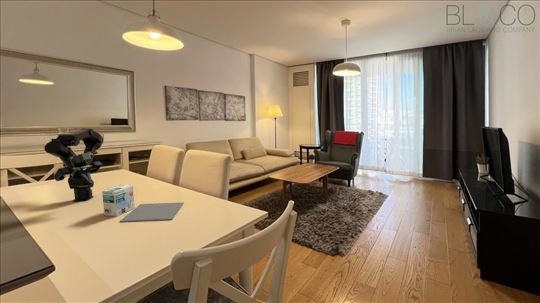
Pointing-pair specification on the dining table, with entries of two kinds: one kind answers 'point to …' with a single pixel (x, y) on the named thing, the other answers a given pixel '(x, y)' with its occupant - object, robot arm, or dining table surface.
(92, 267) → the dining table surface
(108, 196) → the light bulb box
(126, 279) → the dining table surface
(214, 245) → the dining table surface
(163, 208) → the charcoal mat
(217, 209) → the dining table surface
